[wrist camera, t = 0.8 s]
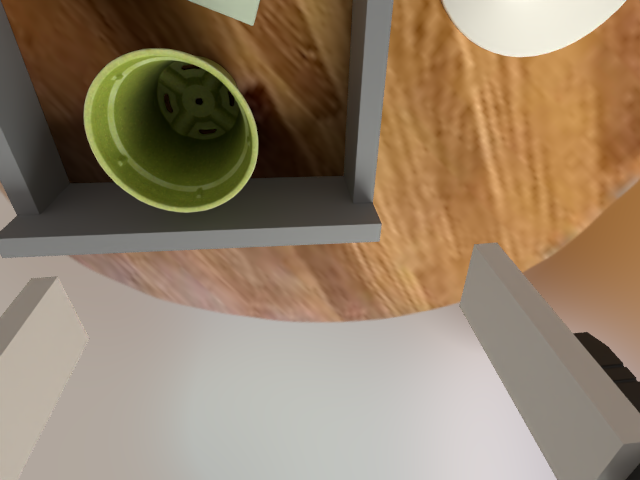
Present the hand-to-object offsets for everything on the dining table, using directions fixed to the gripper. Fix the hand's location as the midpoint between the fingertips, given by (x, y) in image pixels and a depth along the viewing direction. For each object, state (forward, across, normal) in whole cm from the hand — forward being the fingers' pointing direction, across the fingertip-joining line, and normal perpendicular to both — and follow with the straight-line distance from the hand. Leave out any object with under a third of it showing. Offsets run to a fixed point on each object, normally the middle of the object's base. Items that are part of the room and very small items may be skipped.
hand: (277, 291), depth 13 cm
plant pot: (+21, -6, +1) cm, 22 cm away
